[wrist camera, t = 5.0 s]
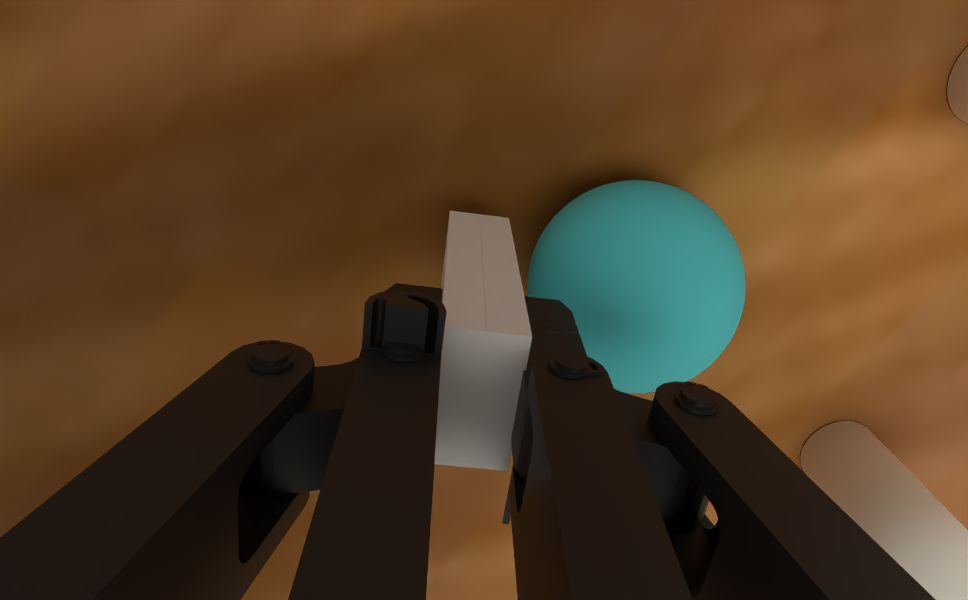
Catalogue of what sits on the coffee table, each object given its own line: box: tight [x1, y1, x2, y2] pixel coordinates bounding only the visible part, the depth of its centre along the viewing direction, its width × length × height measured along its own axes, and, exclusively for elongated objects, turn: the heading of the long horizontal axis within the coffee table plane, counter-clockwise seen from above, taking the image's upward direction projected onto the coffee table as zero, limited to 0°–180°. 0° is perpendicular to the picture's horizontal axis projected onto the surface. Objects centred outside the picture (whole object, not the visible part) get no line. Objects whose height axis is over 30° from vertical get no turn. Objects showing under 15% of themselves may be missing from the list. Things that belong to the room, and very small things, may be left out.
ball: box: [527, 180, 746, 393], centre depth 18 cm, size 6×6×6 cm
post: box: [800, 421, 968, 600], centre depth 20 cm, size 3×3×9 cm
